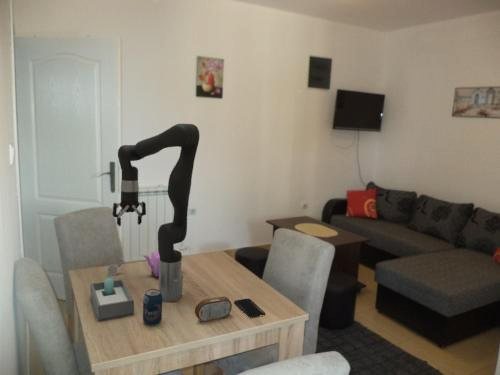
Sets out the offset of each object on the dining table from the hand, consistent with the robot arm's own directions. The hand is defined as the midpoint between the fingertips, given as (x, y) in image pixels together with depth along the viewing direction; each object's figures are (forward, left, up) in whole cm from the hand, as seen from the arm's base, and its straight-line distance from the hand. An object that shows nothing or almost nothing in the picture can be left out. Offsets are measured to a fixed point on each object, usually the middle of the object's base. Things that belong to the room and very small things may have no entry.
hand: (129, 225), depth 171 cm
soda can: (-29, +25, -28) cm, 48 cm away
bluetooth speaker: (-49, +13, -28) cm, 58 cm away
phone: (-59, -1, -29) cm, 66 cm away
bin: (-7, +21, -28) cm, 36 cm away
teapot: (-8, -16, -28) cm, 34 cm away
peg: (-2, +17, -27) cm, 32 cm away
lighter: (+12, -6, -28) cm, 31 cm away
